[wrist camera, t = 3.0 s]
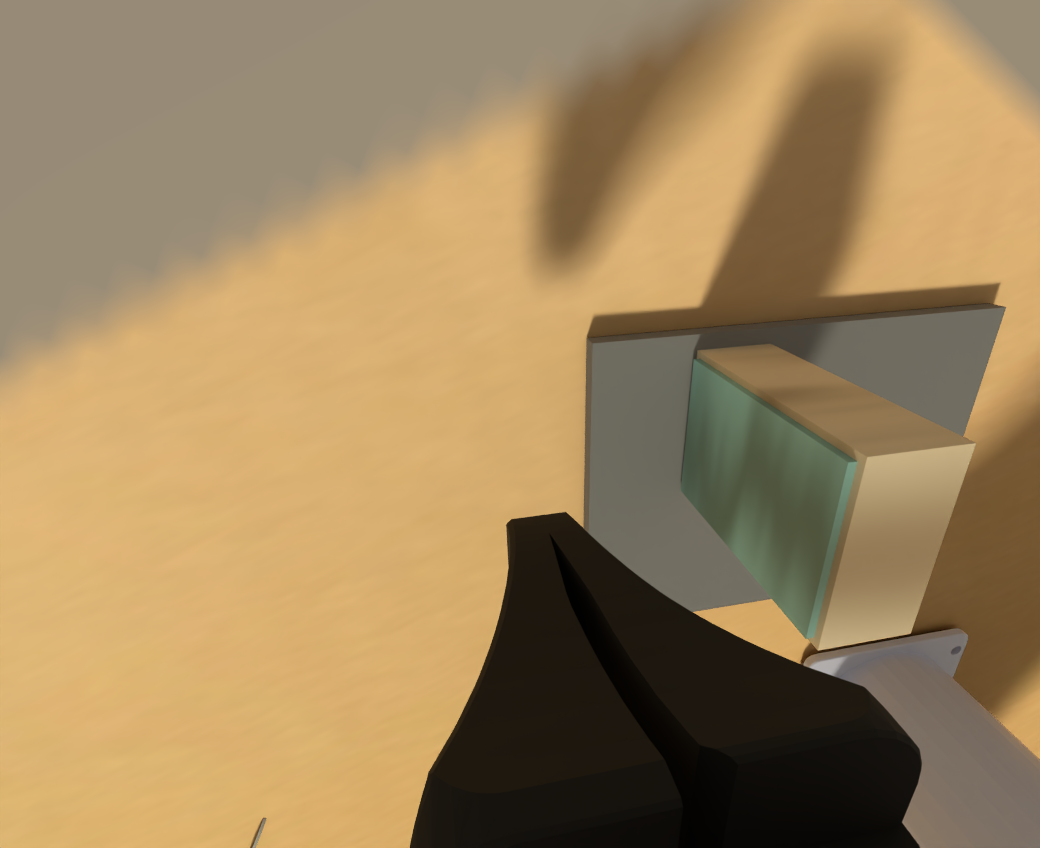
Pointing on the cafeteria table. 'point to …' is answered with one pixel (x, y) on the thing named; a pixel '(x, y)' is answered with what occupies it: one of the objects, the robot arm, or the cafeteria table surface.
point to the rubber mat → (664, 415)
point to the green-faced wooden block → (820, 489)
